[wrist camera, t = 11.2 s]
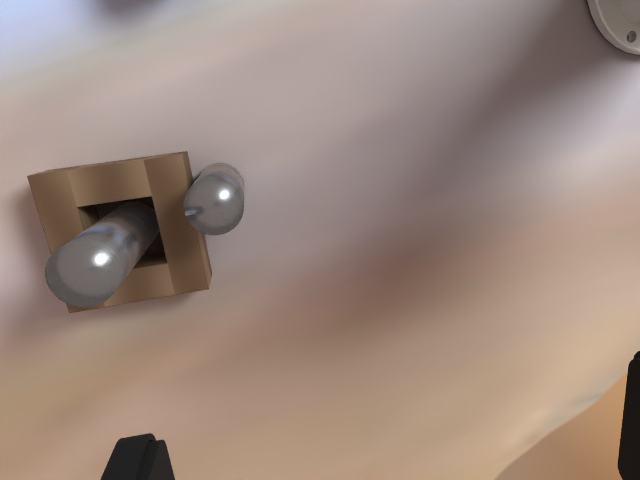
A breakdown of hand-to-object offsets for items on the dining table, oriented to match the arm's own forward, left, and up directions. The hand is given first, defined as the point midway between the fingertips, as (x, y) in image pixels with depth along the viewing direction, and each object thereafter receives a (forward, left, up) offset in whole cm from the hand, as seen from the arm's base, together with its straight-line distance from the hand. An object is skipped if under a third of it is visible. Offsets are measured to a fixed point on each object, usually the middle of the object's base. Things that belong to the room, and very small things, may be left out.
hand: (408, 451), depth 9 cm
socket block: (+12, 0, -29) cm, 31 cm away
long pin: (+12, 0, -29) cm, 31 cm away
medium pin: (+5, -2, -29) cm, 29 cm away
